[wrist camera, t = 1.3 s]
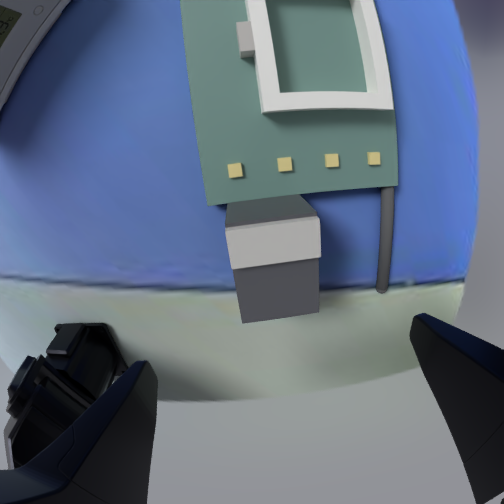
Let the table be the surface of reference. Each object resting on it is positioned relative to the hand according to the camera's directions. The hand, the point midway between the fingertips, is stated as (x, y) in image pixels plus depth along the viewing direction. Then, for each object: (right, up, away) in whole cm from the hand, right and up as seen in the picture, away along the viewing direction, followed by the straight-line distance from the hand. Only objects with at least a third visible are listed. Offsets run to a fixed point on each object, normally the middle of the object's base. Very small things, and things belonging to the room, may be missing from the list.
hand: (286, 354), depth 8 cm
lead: (+9, +6, +11) cm, 15 cm away
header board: (+2, +15, +7) cm, 16 cm away
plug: (0, +4, +11) cm, 12 cm away
